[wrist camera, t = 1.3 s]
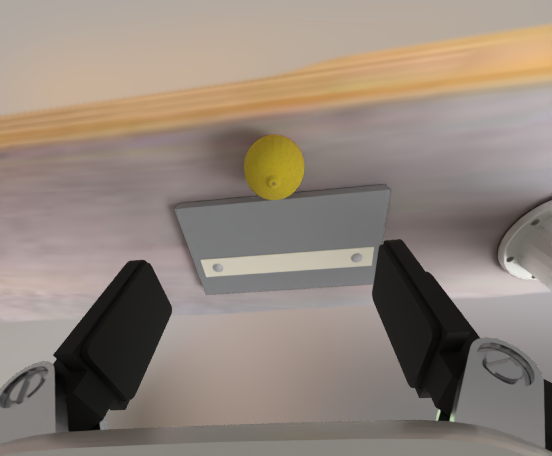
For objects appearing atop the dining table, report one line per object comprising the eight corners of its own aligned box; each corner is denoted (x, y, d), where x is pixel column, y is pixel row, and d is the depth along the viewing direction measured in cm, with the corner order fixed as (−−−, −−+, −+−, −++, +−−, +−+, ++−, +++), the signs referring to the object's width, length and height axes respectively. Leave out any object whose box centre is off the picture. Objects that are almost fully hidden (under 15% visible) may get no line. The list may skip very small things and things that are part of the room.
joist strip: (373, 246, 30) (374, 247, 30) (371, 265, 32) (371, 265, 32) (200, 259, 32) (200, 260, 32) (206, 276, 33) (206, 277, 33)
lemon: (267, 188, 28) (263, 225, 21) (238, 146, 25) (223, 172, 19) (310, 163, 26) (320, 194, 20) (284, 115, 24) (286, 132, 17)
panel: (385, 184, 27) (390, 189, 26) (372, 276, 35) (376, 283, 34) (178, 203, 29) (174, 209, 28) (208, 287, 36) (206, 294, 35)
